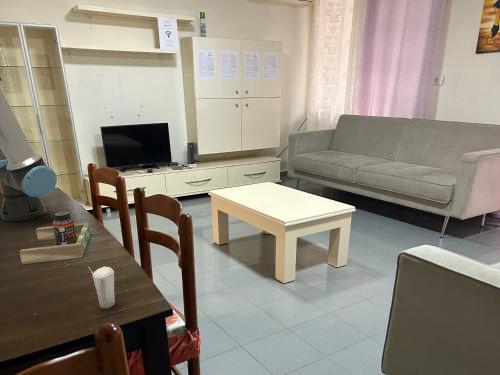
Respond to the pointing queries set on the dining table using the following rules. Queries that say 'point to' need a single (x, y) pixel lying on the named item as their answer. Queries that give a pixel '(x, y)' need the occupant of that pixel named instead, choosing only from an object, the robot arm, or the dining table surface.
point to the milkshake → (104, 286)
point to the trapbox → (60, 250)
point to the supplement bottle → (64, 229)
